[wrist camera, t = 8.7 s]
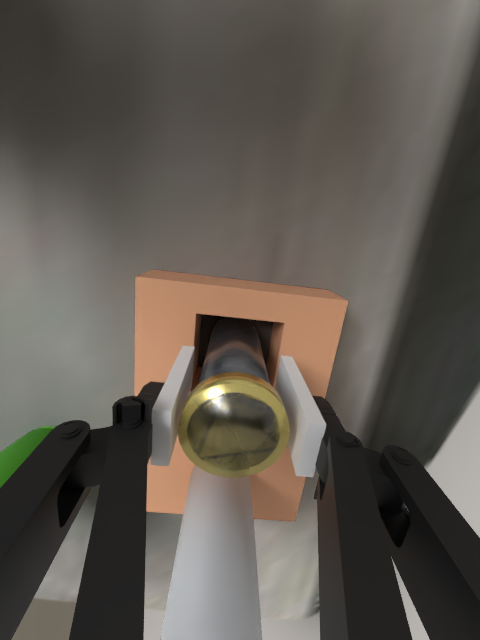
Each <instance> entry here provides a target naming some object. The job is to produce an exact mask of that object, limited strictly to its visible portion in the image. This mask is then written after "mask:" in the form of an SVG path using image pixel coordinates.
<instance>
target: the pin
mask: <svg viewBox="0 0 480 640" xmlns="http://www.w3.org/2000/svg"><path fill="white" fill-rule="evenodd" d="M289 434H290V427H289V421H288V417H287V414H286V410H285V407H284V404H283V401H282V399H281V397H280V395H279V394H278V393H277V391H276V390H275V389H274V388H273V387H272V386H271V385H270V382H269V378H268V374H267V369H266V365H265V361H264V357H263V353H262V348H261V344H260V340H259V336H258V332H257V329H256V327H255V326H254V324H253V323H252V322H251V321H250V320H248V319H244V318H234V317H225V318H223V319H221V320H220V321H219V322H218V323H217V324H216V325H215V327H214V328H213V331H212V334H211V338H210V342H209V346H208V349H207V353H206V357H205V361H204V365H203V369H202V372H201V376H200V380H199V384H198V385H197V386H196V387H195V388H194V389H193V390H192V391H191V393H190V394H189V396H188V397H187V399H186V401H185V404H184V407H183V410H182V413H181V417H180V420H179V424H178V438H179V442H180V445H181V448H182V450H183V452H184V453H185V455H186V456H187V457H188V458H189V460H190V461H191V462H192V463H194V464H195V465H196V466H197V467H199V468H200V469H202V470H204V471H206V472H208V473H211V474H213V475H217V476H221V477H231V478H237V477H245V476H250V475H253V474H256V473H259V472H261V471H263V470H265V469H267V468H268V467H270V466H271V465H272V464H273V463H275V462H276V461H277V460H278V459H279V457H280V456H281V455H282V453H283V452H284V450H285V448H286V446H287V443H288V440H289Z"/></svg>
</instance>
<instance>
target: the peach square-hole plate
mask: <svg viewBox="0 0 480 640" xmlns="http://www.w3.org/2000/svg"><path fill="white" fill-rule="evenodd" d="M347 305H348V300H346V299H344V298H342V297H340V296H339V295H337V294H335V293H333V292H331V291H329V290H325V289H316V288H308V287H299V286H290V285H282V284H273V283H265V282H256V281H247V280H239V279H230V278H222V277H213V276H204V275H196V274H187V273H178V272H170V271H161V270H151V271H148V272H146V273H143V274H141V275H138V276H135V396H138V394H139V393H140V391H141V389H142V388H143V386H144V385H146V384H147V383H149V382H150V381H152V382H163V383H165V381H166V379H167V377H168V375H169V373H170V371H171V369H172V367H173V365H174V363H175V360H176V358H177V356H178V354H179V352H180V350H181V348H182V346H193V347H195V351H194V364H193V377H192V386H191V390H190V393H191V391H192V390H193V389H194V388H195V387H196V386H197V385H198V384H199V380H200V376H201V372H202V369H203V367H197V365H198V352H199V340H200V328H201V315H202V314H207V315H216V316H225V317H234V318H244V319H253V320H262V321H271V322H273V328H272V334H271V340H270V346H269V352H268V359H267V365H266V369H267V374H268V378H269V382H270V385H271V386H272V387H273V388H274V389H275V385H276V380H277V374H278V368H279V363H280V357H281V355H282V356H292V357H293V359H294V361H295V363H296V365H297V367H298V369H299V371H300V373H301V375H302V377H303V379H304V381H305V383H306V385H307V387H308V389H309V391H310V393H311V395H312V396H321V397H323V398H324V399H325V396H326V392H327V388H328V384H329V380H330V376H331V371H332V367H333V363H334V359H335V355H336V351H337V347H338V342H339V338H340V334H341V330H342V326H343V322H344V318H345V313H346V309H347ZM190 393H189V394H190ZM150 463H151V456H150V459H149V462H148V464H147V504H146V512H159V513H174V514H183V518H182V524H181V529H180V535H179V540H178V546H177V551H176V556H175V562H174V567H173V573H172V578H171V584H170V589H169V595H168V600H167V606H166V611H165V616H164V622H163V627H162V633H161V638H160V640H262V631H261V617H260V603H259V589H258V575H257V561H256V546H255V532H254V519H265V520H280V521H295V520H296V516H297V512H298V508H299V504H300V500H301V496H302V491H303V487H304V483H305V479H306V477H303V476H296V474H295V470H294V466H293V462H292V458H291V455H290V451H289V447H288V443H287V446H286V448H285V450H284V452H283V453H282V455H281V456H280V457H279V459H278V460H277V461H276V462H275V463H273V464H272V465H271V466H270V467H268V468H267V469H265V470H263V471H261V472H259V473H256V474H253V475H250V476H245V477H237V478H231V477H221V476H217V475H213V474H211V473H208V472H206V471H204V470H202V469H200V468H199V467H197V466H196V465H195V464H194V463H192V462H191V461H190V460H189V458H188V457H187V456H186V455H185V453H184V452H183V450H182V448H181V445H180V442H179V438H178V435H177V439H176V442H175V446H174V449H173V453H172V456H171V460H170V463H169V466H157V465H150Z"/></svg>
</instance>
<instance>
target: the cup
mask: <svg viewBox="0 0 480 640" xmlns="http://www.w3.org/2000/svg"><path fill="white" fill-rule="evenodd" d="M54 428H55V427H42V428H38V429H36V430H33V431H31V432H29V433H27V434H26V435H24V436H23V437H22V438H20V439H19V440H17V441H16V442H14V443H13V444H11V445H10V446H9V447H7V448H6V449H4V450H3V451H1V452H0V488H1V486H2V485H3V484H4V483H5V482H6V481H7V480H8V479H9V477H10V476H11V475H12V474H13V473H14V472H15V471H16V470H17V468H18V467H19V466H20V465H21V464H22V463H23V462H24V461H25V459H26V458H27V457H28V456H29V455H30V454H31V453H32V452H33V451H34V449H35V448H36V447H37V446H38V445H39V444H40V443H41V442H42V440H43V439H44V438H45V437H46V436H47V435H48V434H49V433H50V431H51V430H53V429H54Z"/></svg>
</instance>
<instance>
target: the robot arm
mask: <svg viewBox="0 0 480 640" xmlns="http://www.w3.org/2000/svg"><path fill="white" fill-rule="evenodd" d="M194 351H195V347H193V346H182V348H181V350H180V352H179V354H178V356H177V358H176V360H175V363H174V365H173V367H172V369H171V371H170V373H169V375H168V377H167V379H166V381H165V383H163V382H152V381H150V382H149V383H147V384H146V385H144V386H143V388H142V389H141V391H140V393H139V394H138V396H129V397H124V398H122V399H119V400H118V401H117V402H115V403H114V405H113V407H112V408H113V425H112V426H110V427H106V428H100V429H93V430H90V426H89V424H88V423H87V422H85V421H81V420H73V421H68V422H64V423H62V424H60V425H58V426H56V427H55V428H54V429H53V430H51V431H50V433H49V434H48V435H47V436H46V437H45V438H44V439H43V440H42V442H41V443H40V444H39V445H38V446H37V447H36V448H35V449H34V451H33V452H32V453H31V454H30V455H29V456H28V457H27V458H26V459H25V461H24V462H23V463H22V464H21V465H20V466H19V467H18V468H17V470H16V471H15V472H14V473H13V474H12V475H11V476H10V477H9V479H8V480H7V481H6V482H5V483H4V484H3V485H2V486H1V488H0V640H11V639H12V637H13V635H14V633H15V632H16V630H17V628H18V626H19V624H20V622H21V620H22V618H23V616H24V614H25V612H26V610H27V608H28V607H29V605H30V603H31V601H32V599H33V597H34V595H35V594H36V592H37V590H38V588H39V586H40V584H41V582H42V580H43V578H44V576H45V575H46V573H47V571H48V569H49V567H50V565H51V563H52V561H53V559H54V557H55V556H56V554H57V552H58V550H59V548H60V546H61V544H62V542H63V540H64V538H65V537H66V535H67V533H68V531H69V529H70V527H71V525H72V523H73V521H74V519H75V518H76V516H77V514H78V512H79V510H80V508H81V506H82V504H83V502H84V500H85V499H86V497H87V495H88V493H89V491H90V489H91V487H92V486H95V485H100V484H101V485H100V490H99V495H98V500H97V505H96V510H95V515H94V520H93V524H92V529H91V534H90V539H89V544H88V549H87V554H86V559H85V564H84V568H83V573H82V578H81V583H80V588H79V593H78V598H77V603H76V608H75V613H74V618H73V622H72V627H71V632H70V637H69V640H143V632H144V631H143V630H144V589H145V547H146V504H147V464H148V462H149V459H150V456H151V463H150V465H157V466H169V463H170V460H171V456H172V453H173V449H174V446H175V442H176V439H177V435H178V424H179V420H180V417H181V413H182V410H183V407H184V404H185V401H186V399H187V397H188V396H189V393H190V390H191V386H192V377H193V364H194ZM275 390H276V391H277V393H278V394H279V395H280V397H281V399H282V401H283V404H284V407H285V410H286V414H287V417H288V421H289V427H290V434H289V440H288V447H289V451H290V455H291V458H292V462H293V466H294V470H295V474H296V476H303V477H313V476H314V472H315V468H317V471H318V474H319V479H318V483H317V487H316V491H315V494H314V498H313V499H316V498H317V506H318V553H319V599H320V640H412V636H411V632H410V628H409V624H408V621H407V618H406V613H405V609H404V605H403V601H402V597H401V594H400V589H399V586H398V582H397V578H396V574H395V570H394V566H393V562H392V559H393V561H394V563H395V565H396V567H397V570H398V572H399V574H400V576H401V578H402V580H403V582H404V585H405V587H406V589H407V591H408V593H409V595H410V597H411V600H412V602H413V604H414V606H415V608H416V611H417V613H418V615H419V617H420V619H421V621H422V623H423V626H424V628H425V630H426V632H427V634H428V636H429V639H430V640H480V538H479V537H478V535H477V534H476V533H475V532H474V531H473V529H472V528H471V527H470V525H469V524H468V523H467V522H466V520H465V519H464V518H463V516H462V515H461V514H460V513H459V511H458V510H457V509H456V508H455V506H454V505H453V504H452V502H451V501H450V500H449V499H448V498H447V496H446V495H445V494H444V492H443V491H442V490H441V489H440V487H439V486H438V485H437V483H436V482H435V481H434V480H433V478H432V477H431V476H430V475H429V473H428V472H427V471H426V470H425V468H424V467H423V466H422V464H421V463H420V462H419V461H418V459H417V458H416V457H415V456H414V455H412V454H411V453H410V452H408V451H407V450H405V449H402V448H400V447H397V446H386V447H384V449H383V452H382V453H379V452H376V451H372V450H369V449H366V448H364V447H363V445H362V444H361V442H360V440H359V439H358V438H357V437H355V436H354V435H352V434H351V433H348V432H346V431H345V429H344V428H343V426H342V424H341V423H340V421H339V419H338V417H337V416H336V414H335V412H334V410H333V409H332V407H331V405H330V404H329V402H328V401H326V400H325V399H324V398H323V397H321V396H312V395H311V393H310V391H309V389H308V387H307V385H306V383H305V381H304V379H303V377H302V375H301V373H300V371H299V369H298V367H297V365H296V363H295V361H294V359H293V357H292V356H282V355H281V357H280V363H279V368H278V374H277V380H276V385H275ZM406 507H407V508H406ZM407 509H408V510H407ZM391 557H392V558H391Z"/></svg>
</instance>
